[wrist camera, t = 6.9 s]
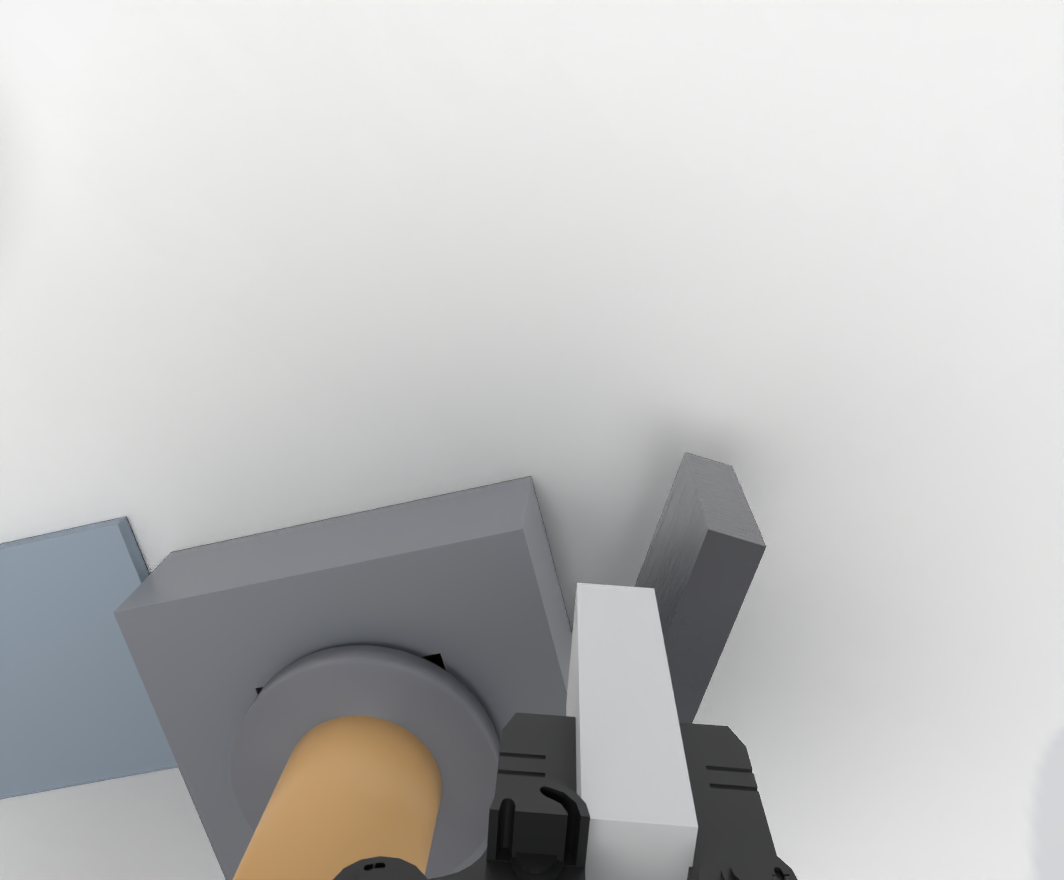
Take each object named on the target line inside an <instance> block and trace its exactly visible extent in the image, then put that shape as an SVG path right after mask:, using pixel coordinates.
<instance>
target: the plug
mask: <svg viewBox="0 0 1064 880" xmlns="http://www.w3.org/2000/svg"><path fill="white" fill-rule="evenodd" d="M499 752H500V744H499V740H498V736H497V734H496V731H495V728H494V726H493V723H492V721H491V720H490V718H489V716H488V714H487V712H486V711H485V709H484V708H483V706H482V705H481V704H480V702H479V701H478V700H477V698H476V697H475V696H474V695H473V694H472V693H471V692H470V691H469V689H468V688H467V687H466V686H465V685H464V684H462V683H461V682H460V681H459V680H458V679H456V678H455V677H454V676H453V675H451V674H450V673H448V672H447V671H446V669H445V666H444V663H443V660H442V657H441V653H438V654H433V655H428V656H423V657H419V656H416V655H413V654H410V653H407V652H404V651H401V650H396V649H392V648H387V647H380V646H370V645H349V646H342V647H334V648H329V649H326V650H322V651H318V652H315V653H312V654H310V655H307V656H305V657H302V658H300V659H298V660H297V661H295V662H293V663H291V664H290V665H288V666H286V667H285V668H284V669H282V670H281V671H280V672H279V673H277V674H276V675H275V676H274V677H273V678H272V679H271V680H270V681H269V682H268V683H267V684H266V685H265V686H264V687H263V689H262V690H261V692H260V693H259V694H258V696H257V697H256V699H255V700H254V702H253V704H252V706H251V707H250V709H249V711H248V713H247V714H246V716H245V718H244V720H243V722H242V724H241V726H240V728H239V730H238V732H237V735H236V738H235V741H234V745H233V750H232V757H231V778H232V784H233V789H234V793H235V796H236V799H237V802H238V805H239V807H240V809H241V811H242V813H243V815H244V817H245V819H246V821H247V822H248V824H249V825H250V827H251V828H252V830H253V831H254V832H255V833H254V835H253V837H252V839H251V841H250V843H249V845H248V848H247V850H246V852H245V854H244V856H243V858H242V860H241V863H240V865H239V867H238V869H237V871H236V873H235V876H234V878H233V880H333V879H334V878H335V877H336V876H337V875H338V874H339V873H340V872H341V870H342V869H343V868H345V867H347V866H349V865H351V864H353V863H355V862H357V861H359V860H361V859H367V858H372V857H378V856H384V857H393V858H400V859H402V860H404V861H407V862H409V863H411V864H413V865H415V866H416V867H417V868H418V869H419V870H420V871H421V872H422V873H423V874H424V875H425V876H426V877H427V879H431V878H437V877H441V876H443V875H445V874H447V873H449V872H450V871H452V870H453V869H455V868H456V867H458V866H459V865H461V864H462V863H463V862H464V861H465V860H466V859H468V858H469V857H470V856H471V855H472V854H473V853H474V851H475V850H476V849H477V848H478V847H479V846H480V845H481V843H482V841H483V840H484V838H485V837H486V835H487V834H488V825H489V809H490V807H491V804H492V802H493V799H494V797H495V789H496V780H497V771H498V761H499Z"/></svg>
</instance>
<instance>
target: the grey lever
mask: <svg viewBox="0 0 1064 880" xmlns="http://www.w3.org/2000/svg"><path fill="white" fill-rule="evenodd" d="M765 548H766V545H765V543H764V540H763V538H762V536H761V533H760V531H759V528H758V526H757V524H756V521H755V519H754V517H753V514H752V512H751V510H750V507H749V505H748V503H747V500H746V498H745V495H744V493H743V491H742V488H741V486H740V484H739V481H738V479H737V477H736V474H735V472H734V470H733V467H732V466H730V465H726V464H723V463H720V462H716V461H713V460H710V459H706V458H703V457H700V456H696V455H693V454H690V453H686V452H685V454H684V456H683V459H682V462H681V464H680V467H679V470H678V472H677V475H676V478H675V480H674V483H673V486H672V488H671V491H670V494H669V496H668V499H667V502H666V504H665V507H664V510H663V512H662V515H661V518H660V520H659V523H658V526H657V528H656V531H655V534H654V536H653V539H652V542H651V544H650V547H649V550H648V552H647V555H646V558H645V560H644V563H643V566H642V568H641V571H640V574H639V577H638V579H637V582H636V585H635V587H643V588H654V590H655V595H656V601H657V606H658V612H659V617H660V623H661V628H662V633H663V639H664V644H665V650H666V655H667V661H668V666H669V672H670V677H671V682H672V688H673V693H674V699H675V704H676V710H677V715H678V720H679V723H690V724H692V722H693V720H694V717H695V715H696V713H697V710H698V708H699V705H700V703H701V701H702V698H703V696H704V694H705V691H706V689H707V686H708V684H709V682H710V679H711V677H712V674H713V672H714V670H715V667H716V665H717V663H718V660H719V658H720V655H721V653H722V651H723V648H724V646H725V643H726V641H727V639H728V636H729V634H730V632H731V629H732V627H733V624H734V622H735V620H736V617H737V615H738V612H739V610H740V608H741V605H742V603H743V601H744V598H745V596H746V593H747V591H748V589H749V586H750V584H751V581H752V579H753V577H754V574H755V572H756V570H757V567H758V565H759V562H760V560H761V558H762V555H763V553H764V550H765Z"/></svg>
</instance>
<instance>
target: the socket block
mask: <svg viewBox="0 0 1064 880" xmlns="http://www.w3.org/2000/svg"><path fill="white" fill-rule="evenodd" d="M113 613H114V616H115V618H116V620H117V623H118V625H119V627H120V630H121V632H122V634H123V637H124V639H125V642H126V644H127V646H128V649H129V651H130V653H131V656H132V658H133V661H134V663H135V665H136V668H137V670H138V672H139V675H140V677H141V679H142V682H143V684H144V687H145V689H146V691H147V694H148V696H149V698H150V701H151V703H152V705H153V708H154V710H155V713H156V715H157V717H158V720H159V722H160V724H161V727H162V729H163V732H164V734H165V736H166V739H167V741H168V743H169V746H170V748H171V750H172V753H173V755H174V758H175V760H176V762H177V765H178V767H179V769H180V772H181V774H182V777H183V779H184V781H185V784H186V786H187V788H188V791H189V793H190V795H191V798H192V800H193V803H194V805H195V807H196V810H197V812H198V814H199V817H200V819H201V822H202V824H203V826H204V829H205V831H206V833H207V836H208V838H209V840H210V843H211V845H212V848H213V850H214V852H215V855H216V857H217V859H218V862H219V864H220V866H221V869H222V871H223V874H224V876H225V878H226V880H233V878H234V876H235V873H236V871H237V869H238V867H239V865H240V863H241V860H242V858H243V856H244V854H245V852H246V850H247V848H248V845H249V843H250V841H251V839H252V837H253V835H254V833H255V832H254V831H253V830H252V828H251V827H250V825H249V824H248V822H247V821H246V819H245V817H244V815H243V813H242V811H241V809H240V807H239V805H238V802H237V799H236V796H235V793H234V789H233V784H232V778H231V757H232V750H233V745H234V741H235V738H236V735H237V732H238V730H239V728H240V726H241V724H242V722H243V720H244V718H245V716H246V714H247V713H248V711H249V709H250V707H251V706H252V704H253V702H254V700H255V699H256V697H257V696H258V694H259V693H260V692H261V690H262V689H263V687H264V686H265V685H266V684H267V683H268V682H269V681H270V680H271V679H272V678H273V677H274V676H275V675H276V674H277V673H279V672H280V671H281V670H282V669H284V668H285V667H286V666H288V665H290V664H291V663H293V662H295V661H297V660H298V659H300V658H302V657H305V656H307V655H310V654H312V653H315V652H318V651H322V650H326V649H329V648H334V647H342V646H349V645H370V646H380V647H387V648H392V649H396V650H401V651H404V652H407V653H410V654H413V655H416V656H419V657H423V656H428V655H433V654H438V653H441V657H442V660H443V663H444V666H445V669H446V671H447V672H448V673H450V674H451V675H453V676H454V677H455V678H456V679H458V680H459V681H460V682H461V683H462V684H464V685H465V686H466V687H467V688H468V689H469V691H470V692H471V693H472V694H473V695H474V696H475V697H476V698H477V700H478V701H479V702H480V704H481V705H482V706H483V708H484V709H485V711H486V712H487V714H488V716H489V718H490V720H491V721H492V723H493V726H494V728H495V731H496V734H497V736H498V740H499V744H500V742H501V733H502V729H503V728H504V727H505V726H506V725H507V723H508V722H509V721H510V720H511V718H512V717H513V716H514V715H515V713H516V712H517V713H530V714H543V715H556V716H566V700H567V689H568V678H569V667H570V655H571V644H572V632H571V628H570V624H569V620H568V616H567V612H566V609H565V605H564V601H563V597H562V593H561V589H560V586H559V582H558V578H557V574H556V570H555V566H554V563H553V559H552V555H551V551H550V547H549V543H548V540H547V536H546V532H545V528H544V524H543V520H542V517H541V513H540V509H539V505H538V501H537V497H536V494H535V490H534V486H533V482H532V478H531V476H530V477H525V478H520V479H516V480H511V481H506V482H501V483H497V484H492V485H487V486H482V487H478V488H473V489H468V490H463V491H459V492H454V493H449V494H445V495H440V496H435V497H430V498H426V499H421V500H416V501H411V502H407V503H402V504H397V505H393V506H388V507H383V508H378V509H374V510H369V511H364V512H359V513H355V514H350V515H345V516H340V517H336V518H331V519H326V520H322V521H317V522H312V523H307V524H303V525H298V526H293V527H288V528H284V529H279V530H274V531H269V532H265V533H260V534H255V535H251V536H246V537H241V538H236V539H232V540H227V541H222V542H217V543H213V544H208V545H203V546H198V547H194V548H189V549H184V550H180V551H175V552H171V553H170V554H169V555H168V556H167V557H166V558H165V559H164V560H163V561H162V562H161V563H160V564H159V565H158V567H157V568H156V569H155V570H154V571H153V572H152V573H151V574H150V575H149V576H148V577H147V578H146V579H145V580H144V581H143V582H142V583H141V584H140V585H139V586H138V587H137V588H136V590H135V591H134V592H133V593H132V594H131V595H130V596H129V597H128V598H127V599H126V600H125V601H124V602H123V603H122V604H121V605H120V606H119V607H118V608H117V609H116V610H115V611H114V612H113ZM487 841H488V834H487V835H486V837H485V838H484V840H483V841H482V843H481V845H480V846H479V847H478V848H477V849H476V850H475V851H474V853H473V854H472V855H471V856H470V857H469V858H468V859H466V860H465V861H464V862H463V863H462V864H461V865H459V866H458V867H456V868H455V869H453V870H452V871H450V872H449V873H447V874H445V875H443V876H446V875H450V874H453V873H456V872H459V871H461V870H463V869H465V868H467V867H469V866H471V865H472V864H473V863H474V862H476V861H477V860H478V859H479V858H480V857H481V856H482V854H483V853H484V851H485V850H486V848H487ZM441 877H442V876H441Z"/></svg>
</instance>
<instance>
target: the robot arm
mask: <svg viewBox="0 0 1064 880" xmlns="http://www.w3.org/2000/svg"><path fill="white" fill-rule="evenodd" d="M333 880H797V878H796V876H795V874H794V872H793V871H792V869H791V868H790V867H789V866H788V865H786V864H785V863H784V862H783V861H782V860H781V859H780V858H779V857H777V855H776V851H775V848H774V844H773V841H772V837H771V834H770V830H769V827H768V823H767V820H766V816H765V813H764V809H763V806H762V802H761V799H760V795H759V792H757V784H756V781H755V777H754V774H753V773H752V767H751V763H750V760H749V756H748V753H747V749H746V746H745V745H744V744H743V743H742V742H741V741H740V740H739V739H738V737H737V736H736V735H735V734H734V733H733V732H732V731H731V729H730V728H729V727H728V726H716V725H703V724H690V723H679V720H678V715H677V710H676V704H675V699H674V693H673V688H672V682H671V677H670V672H669V666H668V661H667V655H666V650H665V644H664V639H663V633H662V628H661V623H660V617H659V612H658V606H657V601H656V595H655V590H654V588H643V587H629V586H616V585H603V584H589V583H577V588H576V599H575V610H574V622H573V633H572V644H571V655H570V667H569V678H568V689H567V700H566V716H556V715H543V714H530V713H517V712H516V713H515V715H514V716H513V717H512V718H511V720H510V721H509V722H508V723H507V725H506V726H505V727H504V728H503V729H502V733H501V742H500V752H499V761H498V771H497V780H496V789H495V797H494V799H493V802H492V804H491V807H490V809H489V825H488V841H487V848H486V850H485V851H484V853H483V854H482V856H481V857H480V858H479V859H478V860H477V861H476V862H474V863H473V864H472V865H471V866H469V867H467V868H465V869H463V870H461V871H459V872H456V873H453V874H450V875H446V876H442V877H437V878H431V879H427V877H426V876H425V875H424V874H423V873H422V872H421V871H420V870H419V869H418V868H417V867H416V866H415V865H413V864H411V863H409V862H407V861H404V860H402V859H400V858H393V857H384V856H378V857H372V858H367V859H361V860H359V861H357V862H355V863H353V864H351V865H349V866H347V867H345V868H343V869H342V870H341V872H340V873H339V874H338V875H337V876H336V877H335V878H334V879H333Z"/></svg>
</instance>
